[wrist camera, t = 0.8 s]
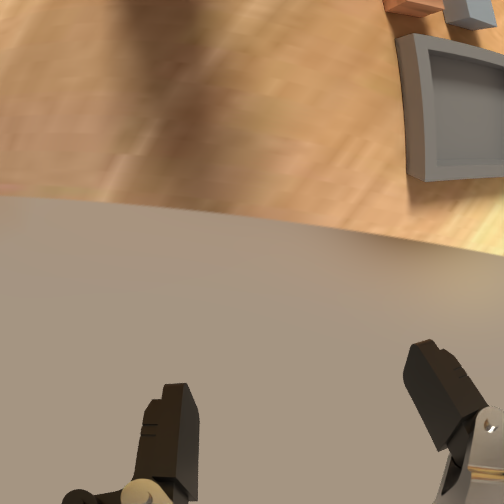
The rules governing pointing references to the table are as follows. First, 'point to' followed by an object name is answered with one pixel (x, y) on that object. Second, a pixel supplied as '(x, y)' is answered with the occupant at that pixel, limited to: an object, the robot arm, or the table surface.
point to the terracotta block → (413, 7)
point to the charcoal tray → (451, 108)
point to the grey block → (469, 14)
